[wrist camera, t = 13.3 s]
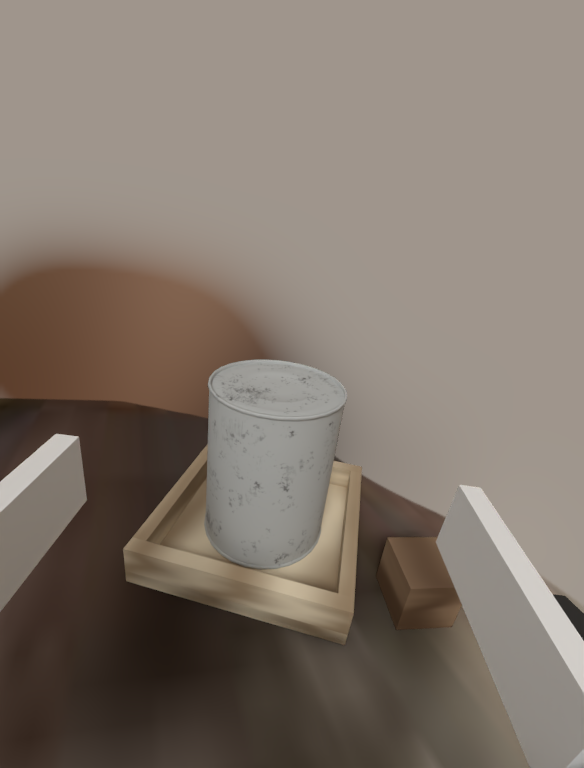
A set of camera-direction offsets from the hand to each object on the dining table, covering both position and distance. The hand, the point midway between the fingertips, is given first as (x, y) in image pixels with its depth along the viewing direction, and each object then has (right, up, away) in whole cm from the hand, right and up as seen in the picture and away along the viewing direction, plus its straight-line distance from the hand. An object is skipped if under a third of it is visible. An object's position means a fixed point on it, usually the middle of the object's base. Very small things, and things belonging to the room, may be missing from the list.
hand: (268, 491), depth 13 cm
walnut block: (+9, -12, +13) cm, 20 cm away
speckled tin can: (-1, -8, +17) cm, 19 cm away
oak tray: (-2, -8, +18) cm, 20 cm away
